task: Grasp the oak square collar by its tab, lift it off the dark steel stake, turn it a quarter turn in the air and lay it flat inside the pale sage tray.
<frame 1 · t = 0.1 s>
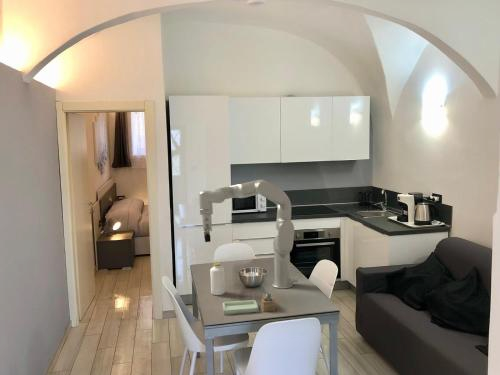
hand: (207, 240, 269), 31 cm above the table, fingers open, 9 cm apart
potion bottle: (218, 293, 267), on the table
steel stake: (268, 308, 240), on the table
oak collar: (268, 308, 240), on the table
sage tray: (240, 309, 241), on the table
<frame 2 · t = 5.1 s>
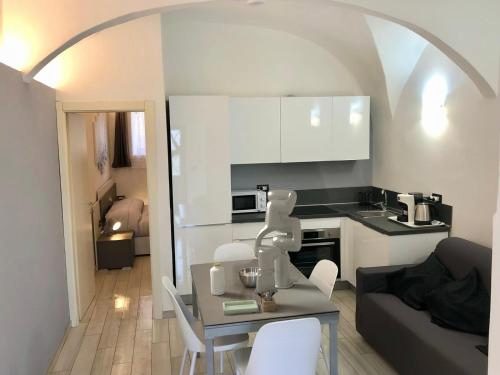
hand: (266, 303, 247), 0 cm above the table, fingers closed on oak collar, 3 cm apart
oak collar: (268, 308, 241), on the table, touching gripper
everything else where it was.
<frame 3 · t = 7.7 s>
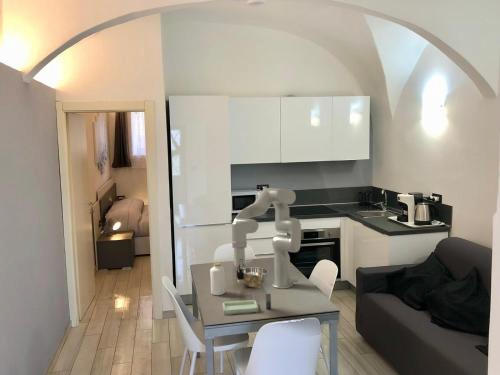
hand: (240, 278, 240), 17 cm above the table, fingers closed on oak collar, 3 cm apart
oak collar: (253, 285, 242), point 12 cm above the table, tilted 19°, touching gripper
everything else where it was.
when the fingers open (3 cm above the table, at t = 10.6 s): oak collar stays where it is, resting on sage tray.
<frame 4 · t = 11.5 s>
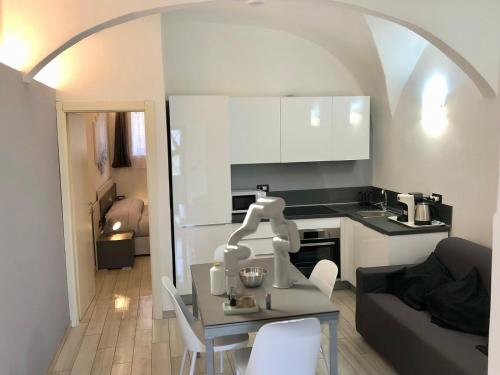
hand: (232, 303, 240), 4 cm above the table, fingers open, 9 cm apart
oak collar: (247, 307, 241), point 1 cm above the table, touching sage tray
everything else where it was.
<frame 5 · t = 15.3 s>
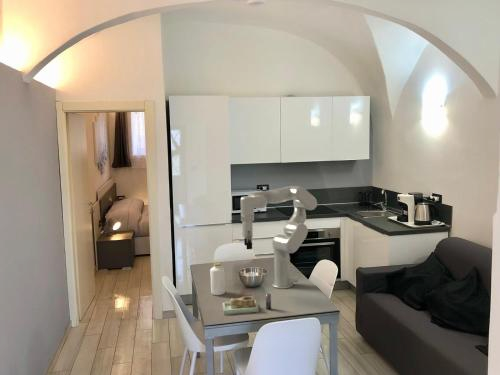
hand: (248, 247, 260), 28 cm above the table, fingers open, 9 cm apart
nothing on the table moved.
at the end: oak collar inside the target area on the sage tray (2.2 cm from its centre), point 0.8 cm above the sage tray's base; oak collar tilted 0°; the gripper is holding nothing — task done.
